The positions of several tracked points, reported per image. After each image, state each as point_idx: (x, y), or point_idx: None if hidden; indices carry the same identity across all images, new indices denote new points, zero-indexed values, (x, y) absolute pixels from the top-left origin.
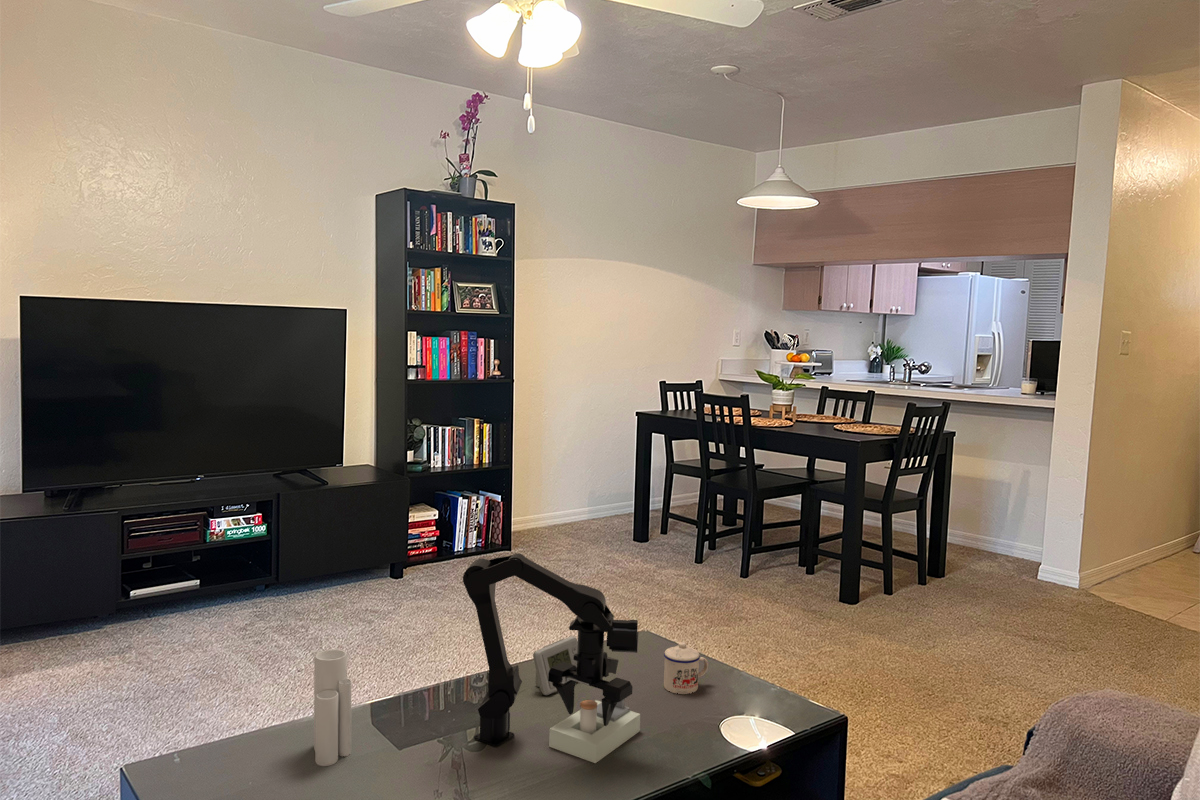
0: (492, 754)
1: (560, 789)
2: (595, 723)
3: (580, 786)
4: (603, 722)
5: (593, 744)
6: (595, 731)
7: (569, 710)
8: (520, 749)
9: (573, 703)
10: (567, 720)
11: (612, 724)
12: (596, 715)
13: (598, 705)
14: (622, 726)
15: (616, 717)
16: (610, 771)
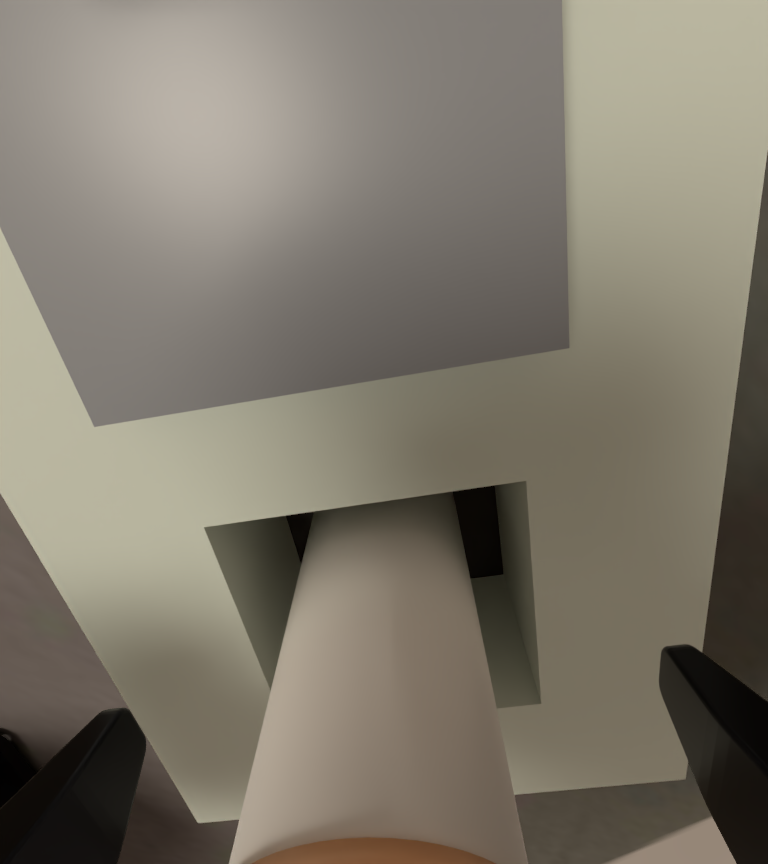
0: (139, 859)
1: (613, 855)
2: (482, 646)
3: (682, 804)
4: (686, 752)
5: (658, 778)
6: (468, 570)
7: (126, 821)
8: (170, 778)
9: (41, 846)
10: (147, 672)
11: (587, 415)
12: (492, 718)
13: (1, 170)
14: (739, 353)
15: (562, 269)
16: (758, 642)
